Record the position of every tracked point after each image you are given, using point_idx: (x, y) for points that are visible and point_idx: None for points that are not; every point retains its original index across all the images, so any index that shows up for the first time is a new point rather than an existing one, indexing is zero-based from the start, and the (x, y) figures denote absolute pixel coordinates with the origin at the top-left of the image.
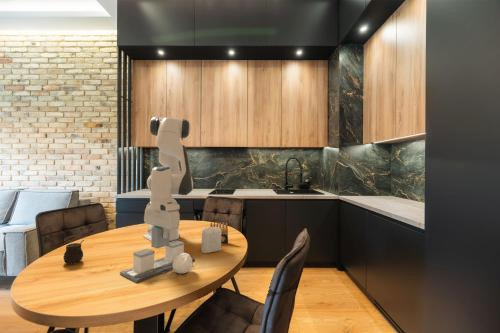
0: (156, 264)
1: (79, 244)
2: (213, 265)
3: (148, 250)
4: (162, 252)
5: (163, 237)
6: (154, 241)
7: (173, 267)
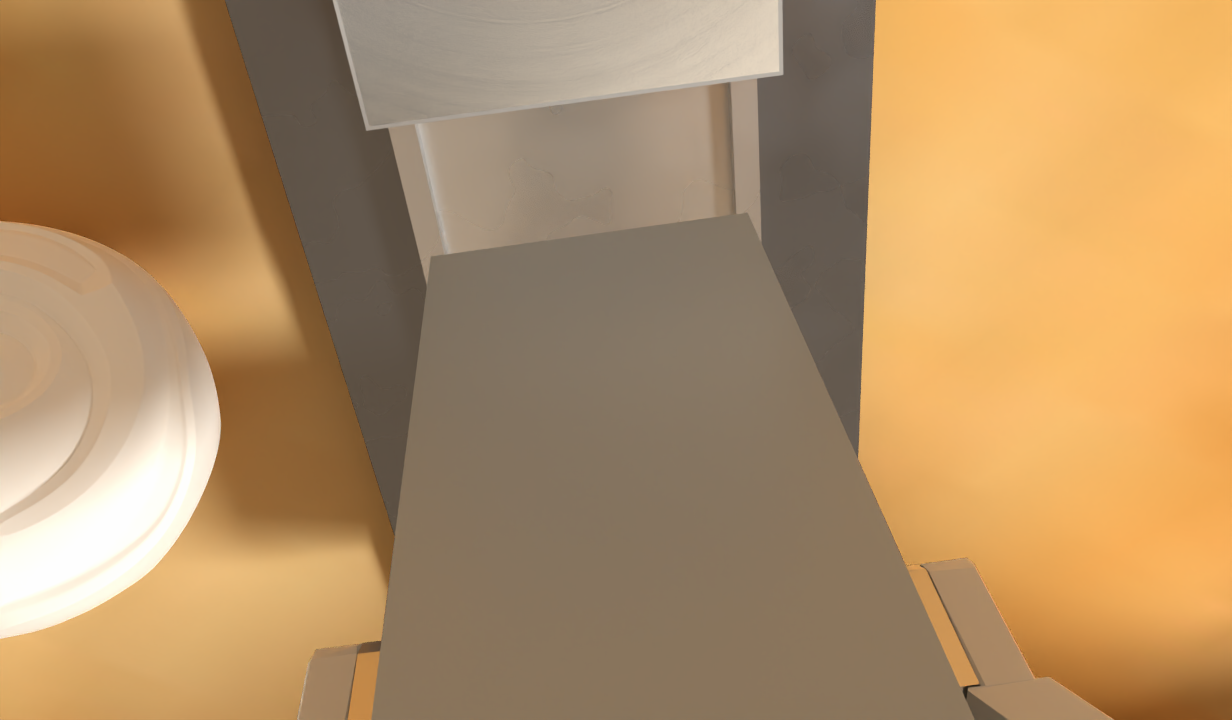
0: (593, 120)
1: None
2: (94, 713)
3: (580, 18)
4: (1157, 478)
5: (324, 660)
6: (593, 349)
7: (7, 238)
